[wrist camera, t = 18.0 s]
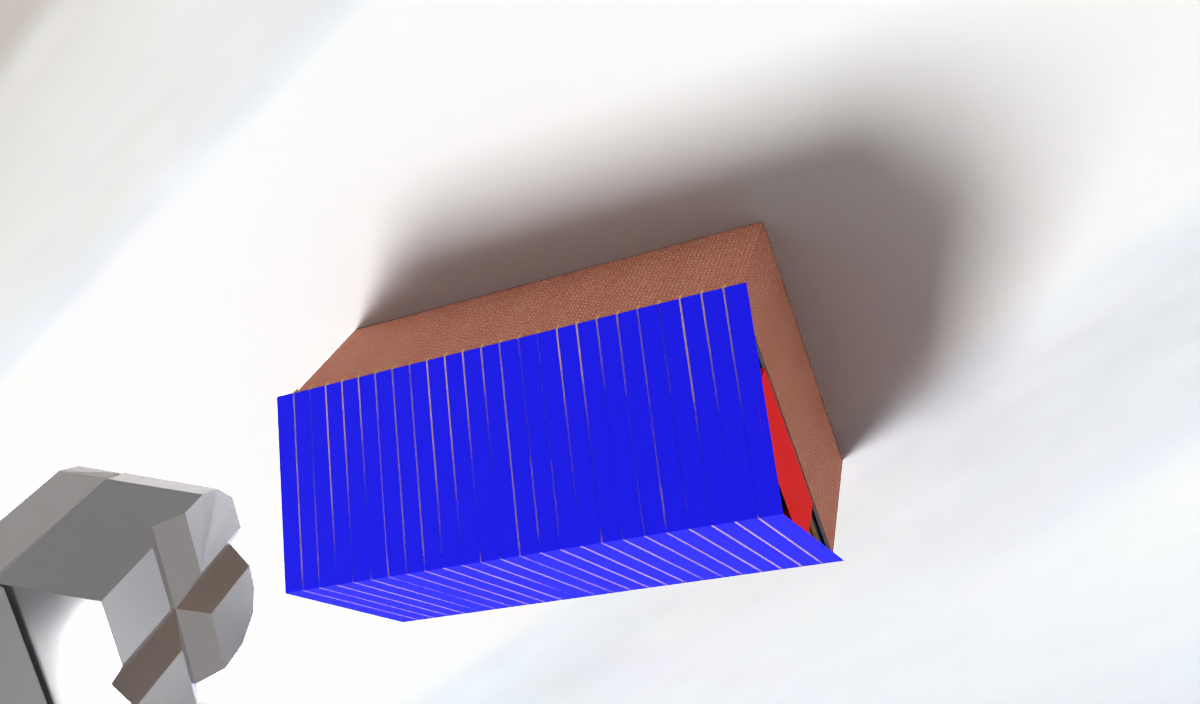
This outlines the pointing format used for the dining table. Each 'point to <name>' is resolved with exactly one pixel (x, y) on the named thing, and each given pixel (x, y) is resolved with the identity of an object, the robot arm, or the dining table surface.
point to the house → (563, 441)
